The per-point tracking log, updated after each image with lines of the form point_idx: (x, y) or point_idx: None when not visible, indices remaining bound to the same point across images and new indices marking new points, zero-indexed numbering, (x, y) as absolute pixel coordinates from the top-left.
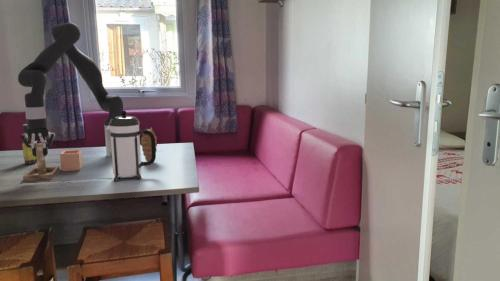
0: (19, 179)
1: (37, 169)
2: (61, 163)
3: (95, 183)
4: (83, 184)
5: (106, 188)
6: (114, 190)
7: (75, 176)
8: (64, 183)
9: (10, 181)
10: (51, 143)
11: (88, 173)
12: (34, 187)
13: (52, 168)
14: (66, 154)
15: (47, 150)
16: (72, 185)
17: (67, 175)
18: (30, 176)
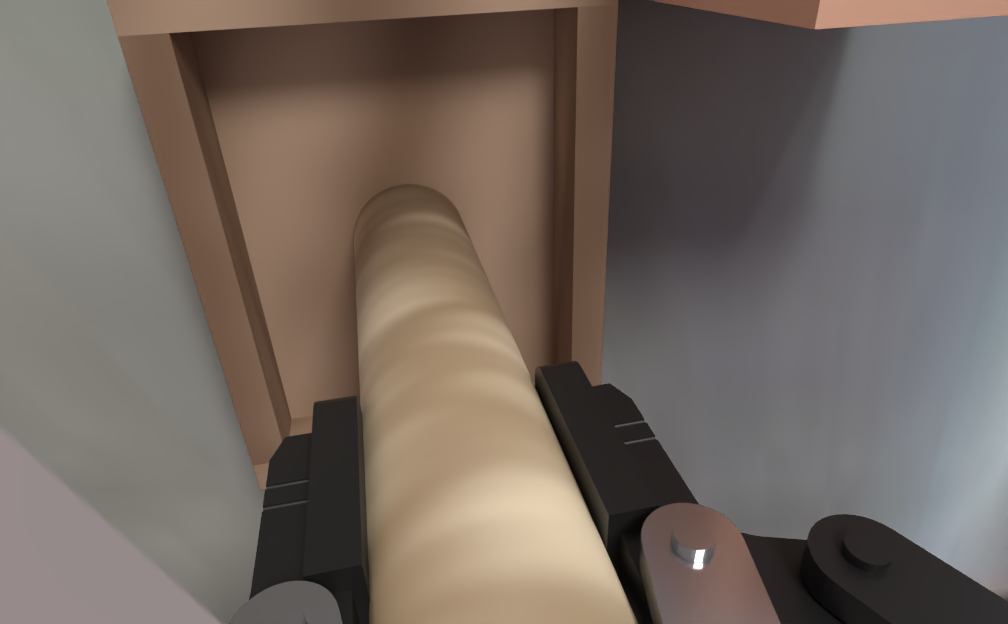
0: (89, 274)
1: (222, 27)
2: (698, 6)
3: (936, 441)
4: (849, 463)
5: (974, 535)
6: (1004, 563)
7: (795, 209)
8: (700, 438)
9: (19, 356)
10: (919, 592)
11: (946, 86)
12: None
13: (499, 8)
14: (946, 15)
15: (660, 465)
16: (767, 485)
17: (704, 148)
18: None
